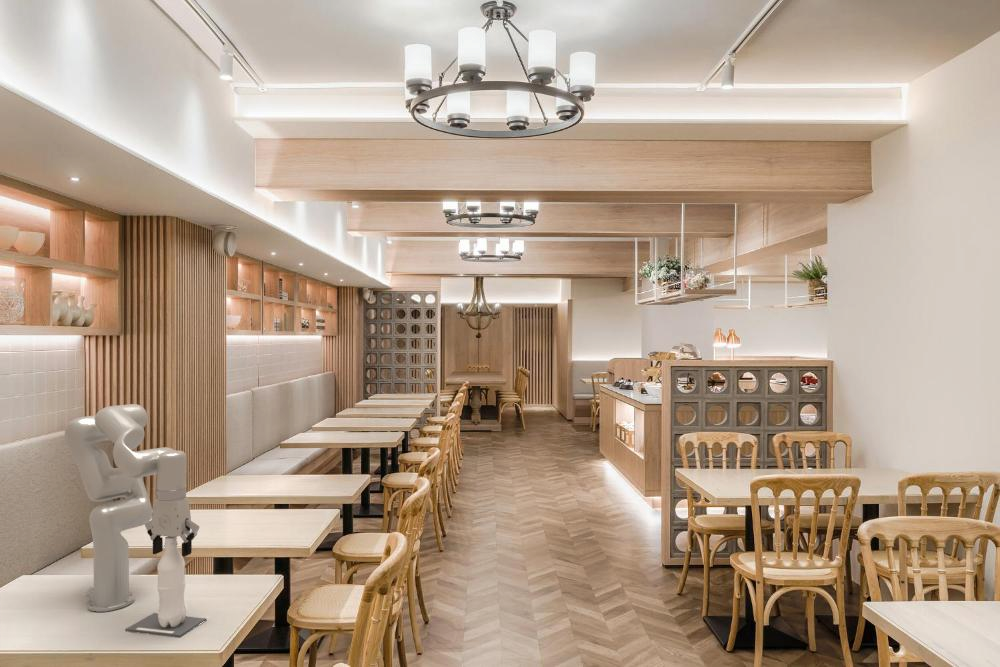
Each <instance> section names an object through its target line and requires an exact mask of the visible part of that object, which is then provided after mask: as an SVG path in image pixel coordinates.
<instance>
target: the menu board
mask: <svg viewBox="0 0 1000 667" xmlns="http://www.w3.org/2000/svg"><path fill="white" fill-rule="evenodd" d="M205 620H206V621H207V618H205V617H197V616H196V617H195V616H186V615H185V619H184V621H183V622H182V623H179V625H177V626H176V627H171V625H170V623H169V624H168V626H167V627H166V628H164V627H162V626H161V625H160V623H159V620H158V612H153V613H151V614H150V615H147V616H146V617H144V618H142V619H141V620H139V621H137V622H135V623H133V624H132V625H129V626H128V627H126V628H125V629H124V630H125V632H131V633H137V632H139V633H140V634H146V633H149V634H148V635H157V636H165V637H175V638H181V637H183V636H185V635H186V634H188V633H190V632H191V631H193V630H194V629H195V628H194V627H196V626H197V627H199V626H200V625H201V624H200V623H202V622H203V621H205ZM206 621H205V622H206ZM203 623H204V622H203ZM203 623H202V624H203ZM199 624H200V625H199ZM198 625H199V626H198ZM197 627H196V628H197ZM193 628H194V629H193ZM190 630H191V631H190ZM187 632H188V633H187ZM184 634H185V635H184Z"/></svg>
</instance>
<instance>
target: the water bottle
mask: <svg viewBox="0 0 1000 667" xmlns="http://www.w3.org/2000/svg"><path fill="white" fill-rule="evenodd" d="M164 537H165V538H164V545H163V548H164V549H163V553H162V555H161V557H160V559H159V560H158V563H157V566H156V569H157V592H158V596H159V607H158V611H157V613H158V620H159V623H160V625H161V626H162V627H164V628H166V627H167V626H168V624H169V623H170V625H171V627H176V626H177V625H179V623H182V622H183V621H184V619H185V616H186V613H187V609H186V605H185V587H186V579H185V578H186V577H185V576H186V573H185V572H186V571H185V569H186V568H185V567H186V561H185V559H184V557H182V553H181V552H180V550H179V549H178V538H177V537H178V536H177V537H172V536H164Z"/></svg>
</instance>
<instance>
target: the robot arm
mask: <svg viewBox="0 0 1000 667" xmlns="http://www.w3.org/2000/svg"><path fill="white" fill-rule="evenodd" d="M148 419H149V418H148V413H147V410H146V409H145V408H144V407H143V406H141V405H139V404H136V403H130V404H120V405H110V406H106V407H103V408H102V409H99V410H98V412H96V414H94V415H88V416H80V417H77V418H74V419H72V420H71V421H70V422H68V423H67V424H66V427H65V429H64V441H65V445H66V448H67V450H68V452H69V454H70V455H71V457H72V459H73V460H74V462H75V463H76V465H77V467H78V471H79V474H80V477H81V481H82V484H83V487H84V490H85V492H86V495H87V497H88V499H89V500H90V501H92V502H98V503H99V502H104V501H109V500H113V499H118V498H123V499H118V500H113V501H110V502H106V503H102V504H100V505H97V506H96V507H94V508H93V509H92V510H91V512H90V515H89V518H88V519H89V526H90V530H91V536H92V547H93V548H92V549H93V550H92V551H93V553H92V554H93V587H89V588H88V589H87V591H86V592H84V595H85V597H86V598H87V597H89V598H90V601H89V602H88V603H87V609H88V610H89V611H91V612H95V611H96V612H97V613H98V612H99V613H100V612H101V613H103V612H111V611H115V610H116V611H117V610H120V609H123V608H124V607H127V606H129V605H131V604H132V603H134V602H135V598H136V597H135V594H133V593H131V592H130V573H129V572H130V570H129V569H130V551H129V550H130V546H129V543H128V540H127V539H126V538H125V537H124V536H123V535H122V534H121V533H122V532H124V531H126V530H130V529H135V528H138V527H142V526H145V528H146V531H147V534H148V535H149V537H150V541H152V555H157V554H159V553H162V552H164V549H163V548H164V545H163V543H164V542H163V537H167V536H172V537H179V538H181V540H182V541H183V542H182V543H181V555H182V557H183V558H185V557H187V556H190V555H191V554H192V548H193V547H192V546H193V545H192V541H193V540H194V539H195V538H196V536H197V535H198V533H199V530H200V525H199V524H196V523H195V522H194V521H193V520H192V516H191V509H190V508H191V506H190V502H189V498H188V497H187V454H186V453H185V452H184V451H183V450H175V449H173V448H172V447H168V446H167V447H166V446H165V447H158V448H157V447H156V448H150V449H149V448H148V449H142V450H137V451H134V450H135V449H136V448H138V447H139V446H140V445H141V443H143V442H144V438H145V435H146V434H145V433H146V432H145V430H144V428H145V427H146V426H147V423H148ZM104 441H105V442H106V441H111V442H112V443H113V448H112V457H113V462H114V464H115V466H116V467H115V468H114V467H113V466H112V465H111V462H110V459H109V456H108V454H107V453H106V452H105V451H104V450H103V449H102V448H100V447H99V446H97V445H95V444H94V443H96V442H97V443H99V442H104ZM153 475H154V476H155V475H156V489H155V490H154V495H156V499H155V500H154V503H153V506H152V503H151V501H150V497H149V494H148V491H147V488H146V486H145V482H144V480H143V478H144V477H149V476H153Z"/></svg>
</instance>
